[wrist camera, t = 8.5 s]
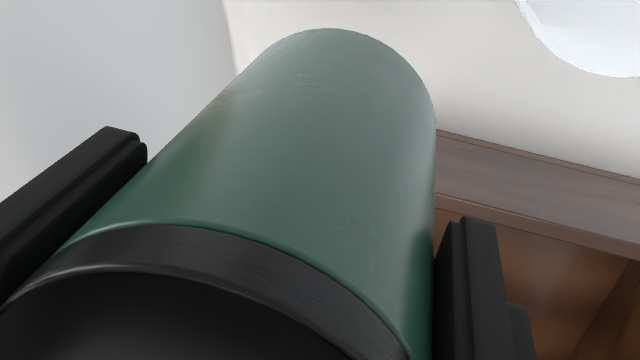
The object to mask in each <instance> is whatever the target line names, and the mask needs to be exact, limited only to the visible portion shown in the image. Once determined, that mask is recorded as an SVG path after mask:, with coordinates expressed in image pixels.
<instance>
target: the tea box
mask: <svg viewBox="0 0 640 360" xmlns="http://www.w3.org/2000/svg"><path fill="white" fill-rule="evenodd" d="M463 216H465V217H469V218H473V219H477V220H481V221H485V222H489V223H493V224H494V225H495V228H496V234H497V240H498V247H499V253H500V259H501V266H502V272H503V278H504V285H505V291H506V297H507V301H508V302H512V303H515V304H519V305H523V306H524V307H525V308H526V310H527V313H528V317H529V322H530V327H531V332H532V336H533V341H534V346H535V351H536V356H537V360H640V180H639V179H635V178H631V177H627V176H623V175H619V174H615V173H610V172H606V171H602V170H598V169H594V168H590V167H586V166H582V165H578V164H574V163H570V162H566V161H562V160H558V159H554V158H550V157H546V156H542V155H538V154H533V153H529V152H525V151H521V150H517V149H513V148H509V147H505V146H501V145H497V144H493V143H489V142H485V141H481V140H477V139H473V138H469V137H465V136H461V135H456V134H452V133H448V132H444V131H440V130H436V163H435V223H434V259H435V257H436V254H437V251H438V248H439V246H440V243H441V240H442V238H443V235H444V232H445V229H446V227H447V224H448V223H449V221H453V222H457V223H459V221H460V219H461V218H462V217H463Z"/></svg>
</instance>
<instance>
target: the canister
mask: <svg viewBox="0 0 640 360" xmlns="http://www.w3.org/2000/svg"><path fill="white" fill-rule="evenodd" d="M435 163H436V121H435V114H434V109H433V105H432V102H431V99H430V96H429V93H428V91H427V89H426V87H425V85H424V84H423V82H422V80H421V78H420V77H419V76H418V74H417V73H416V71H415V70H414V69H413V68H412V67H411V65H410V64H409V63H408V62H407V61H406V60H405V59H404V58H403V57H402V56H400V55H399V54H398V53H397V52H395V51H394V50H393V49H392V48H390V47H388V46H387V45H385V44H384V43H382V42H380V41H378V40H376V39H374V38H371V37H369V36H367V35H364V34H361V33H357V32H354V31H349V30H343V29H330V28H322V29H313V30H307V31H303V32H299V33H295V34H293V35H290V36H288V37H286V38H283V39H281V40H280V41H278V42H276V43H275V44H273V45H271V46H270V47H269V48H268V49H266V50H265V51H264V52H263V53H261V54H260V55H259V56H258V57H257V58H256V59H255V60H254V61H253V62H252V63H251V64H250V65H249V66H248V67H247V68H246V69H245V70H244V71H243V72H242V73H241V74H240V75H239V76H238V77H237V78H236V79H234V80H233V81H232V82H231V83H230V84H229V85H228V86H227V87H226V88H225V89H224V90H223V91H222V92H221V93H220V94H219V95H218V96H217V97H216V98H215V99H214V100H213V101H212V102H211V103H210V104H209V105H208V106H207V107H206V108H205V109H203V110H202V111H201V112H200V113H199V114H198V115H197V116H196V117H195V118H194V119H193V120H192V121H191V122H190V123H189V124H188V125H187V126H186V127H185V128H184V129H183V130H182V131H181V132H180V133H178V134H177V135H176V136H175V137H174V138H173V139H172V140H171V141H170V142H169V143H168V144H167V145H166V146H165V147H164V148H163V149H162V150H161V151H160V152H159V153H158V154H157V155H156V156H155V157H154V158H153V159H152V160H150V161H149V162H148V163H147V164H146V165H145V166H144V167H143V168H142V169H141V170H140V171H139V172H138V173H137V174H136V175H135V176H134V177H133V178H132V179H131V180H130V181H129V182H128V183H127V184H126V185H125V186H123V187H122V188H121V189H120V190H119V191H118V192H117V193H116V194H115V195H114V196H113V197H112V198H111V199H110V200H109V201H108V202H107V203H106V204H105V205H104V206H103V207H102V208H101V209H100V210H99V211H98V212H97V213H95V214H94V215H93V216H92V217H91V218H90V219H89V220H88V221H87V222H86V223H85V224H84V225H83V226H82V227H81V228H80V229H79V230H78V231H77V232H76V233H75V234H74V235H73V236H72V237H71V238H70V239H69V240H67V241H66V242H65V243H64V244H63V245H62V246H61V247H60V248H59V249H58V250H57V251H56V252H55V253H54V254H53V255H52V257H51V258H50V259H48V260H47V261H46V262H45V263H44V264H43V265H42V266H41V267H39V268H38V269H37V270H36V271H35V272H34V273H33V274H32V275H31V276H30V277H29V278H28V279H27V280H26V281H25V282H24V283H23V284H22V285H21V286H20V287H19V288H18V289H17V290H16V291H15V292H14V293H13V294H11V296H10V297H9V298H8V299H7V300H6V301H5V302H4V304H3V305H2V306H1V307H0V360H432V342H433V282H434V223H435Z"/></svg>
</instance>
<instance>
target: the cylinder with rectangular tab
mask: <svg viewBox="0 0 640 360" xmlns="http://www.w3.org/2000/svg"><path fill="white" fill-rule="evenodd" d="M514 1H515V3H516V4H517V6H518V8H519V9H520V11H521V13H522V14H523V16H524V18H525V19H526V21H527V23H528V25H529V26H530V28H531V30H532V31H533V33H534V35H535V36H536V37H537V38H538V39H539V40H540V41H541V42H542V43H543V44H544V45H545V46H546V47H547V48H548V49H549V50H550V51H551V52H552V53H553V54H554V55H555V56H556V57H558V58H560V59H562V60H564V61H566V62H568V63H570V64H572V65H574V66H576V67H577V68H579V69H581V70H583V71H587V72H592V73H596V74H601V75H606V76H611V77H615V78H619V77H640V0H514Z"/></svg>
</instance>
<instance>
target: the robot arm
mask: <svg viewBox="0 0 640 360" xmlns="http://www.w3.org/2000/svg"><path fill="white" fill-rule="evenodd" d="M146 164H147V146H146V144H145V143H142V142H140V139H139V136H138V135H137V134H136V133H133V132H129V131H125V130H121V129H117V128H114V127H109V126H106V127H104V128H102V129H101V130H99V131H98V132H96V133H95V134H94V135H92V136H91V137H90V138H88V139H87V140H86V141H84V142H83V143H81V144H80V145H79V146H77V147H76V148H75V149H73V150H72V151H70V152H69V153H68V154H67V155H65V156H64V157H62V158H61V159H60V160H58V161H57V162H55V163H54V164H53V165H51V166H50V167H49V168H47V169H46V170H45V171H43V172H42V173H40V174H39V175H38V176H36V177H35V178H34V179H32V180H31V181H29V182H28V183H27V184H25V185H24V186H23V187H21V188H20V189H18V190H17V191H16V192H14V193H13V194H12V195H11V196H9V197H8V198H6V199H5V200H4V201H2V202H1V203H0V307H1V306H2V305H3V304H4V302H5V301H6V300H7V299H8V298H9V297H10V296H11V294H13V293H14V292H15V291H16V290H17V289H18V288H19V287H20V286H21V285H22V284H23V283H24V282H25V281H26V280H27V279H28V278H29V277H30V276H31V275H32V274H33V273H34V272H35V271H36V270H37V269H38V268H39V267H41V266H42V265H43V264H44V263H45V262H46V261H47V260H48V259H50V258H51V257H52V255H53V254H54V253H55V252H56V251H57V250H58V249H59V248H60V247H61V246H62V245H63V244H64V243H65V242H66V241H67V240H69V239H70V238H71V237H72V236H73V235H74V234H75V233H76V232H77V231H78V230H79V229H80V228H81V227H82V226H83V225H84V224H85V223H86V222H87V221H88V220H89V219H90V218H91V217H92V216H93V215H94V214H95V213H97V212H98V211H99V210H100V209H101V208H102V207H103V206H104V205H105V204H106V203H107V202H108V201H109V200H110V199H111V198H112V197H113V196H114V195H115V194H116V193H117V192H118V191H119V190H120V189H121V188H122V187H123V186H125V185H126V184H127V183H128V182H129V181H130V180H131V179H132V178H133V177H134V176H135V175H136V174H137V173H138V172H139V171H140V170H141V169H142V168H143V167H144V166H145V165H146ZM432 360H537V356H536V351H535V346H534V341H533V336H532V332H531V327H530V322H529V317H528V313H527V310H526V308H525V307H524V306H523V305H519V304H515V303H512V302H508V301H507V297H506V291H505V285H504V278H503V272H502V266H501V259H500V253H499V247H498V240H497V234H496V228H495V225H494V224H493V223H489V222H485V221H481V220H477V219H473V218H469V217H465V216H463V217H462V218H461V219H460V221H459V223H457V222H453V221H449V223H448V224H447V227H446V229H445V232H444V235H443V238H442V240H441V243H440V246H439V248H438V251H437V254H436V257H435V259H434V282H433V342H432Z"/></svg>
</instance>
